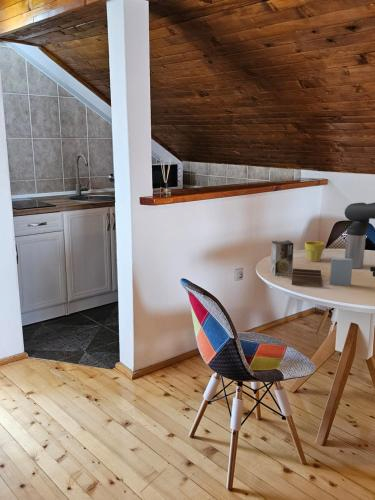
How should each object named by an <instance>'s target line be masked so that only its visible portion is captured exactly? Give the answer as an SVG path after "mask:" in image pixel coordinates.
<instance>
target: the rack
mask: <svg viewBox="0 0 375 500" xmlns="http://www.w3.org/2000/svg"><path fill="white" fill-rule="evenodd" d="M322 278H323V277H322V270H321V269H307V268H306V269H305V268H292V275H291V285H293V286H294V285H295V286H308V287H322V282H323V281H322Z"/></svg>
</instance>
